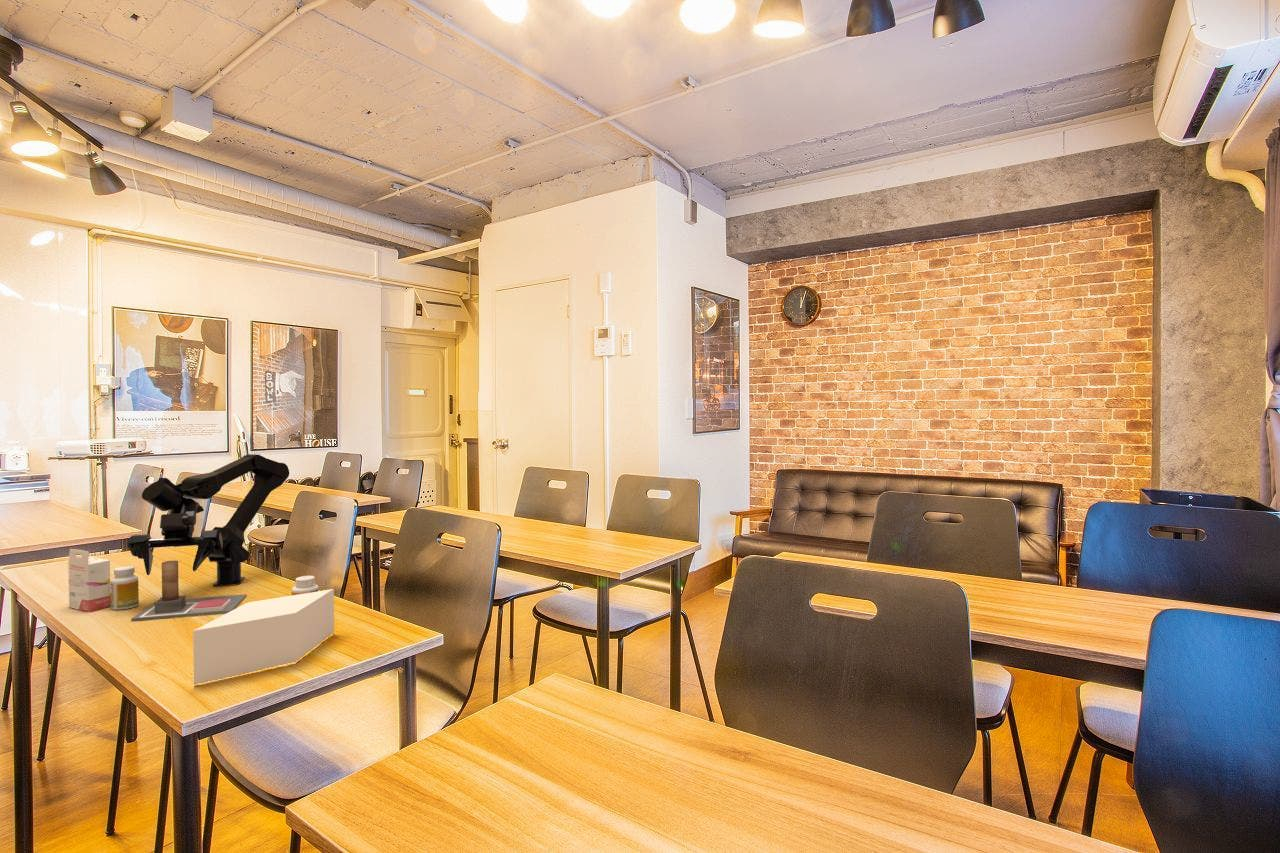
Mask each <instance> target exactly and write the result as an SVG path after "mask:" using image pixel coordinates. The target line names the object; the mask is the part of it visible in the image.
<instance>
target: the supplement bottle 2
mask: <svg viewBox="0 0 1280 853" xmlns="http://www.w3.org/2000/svg"><path fill="white" fill-rule="evenodd" d="M319 589H320V588H319V585H318V584H316V577H315V576H314V575H302V576H299V577H296V578H295V586H293V587H292V588H291V596H292V595H299V594H305V593H311V592H317V591H320V590H319Z"/></svg>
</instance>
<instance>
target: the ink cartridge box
mask: <svg viewBox="0 0 1280 853" xmlns="http://www.w3.org/2000/svg"><path fill="white" fill-rule="evenodd" d="M77 555H80V556H81V557H80V556H79V557H78V556H77ZM89 555H90V552H89V551H88V550H83V549H74V548H70V549H69V554H68V557H69V558H68V566H67V567H68V607H71V608H70V609H72V608H75V609H74V610H77V609H78V610H77V611H82V610H83V611H82V612H87V611H88V613H90V612H94V611H98V610H102V609H106V608H107V609H108V608H111V589H110V582H111V560H110V559H104V558H97V557H91V556H89Z"/></svg>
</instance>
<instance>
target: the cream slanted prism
mask: <svg viewBox="0 0 1280 853" xmlns="http://www.w3.org/2000/svg"><path fill="white" fill-rule="evenodd" d="M192 633H193V635H192V636H193V638H192V639H193V686H194V685H195V684H198V683H204V682H208V681H212V680H218V679H223V678H226V677H232V676H236V675H241V674H245V673H249V672H253V671H258V670H262V669H265V668H269V667H274V666H278V665H283V664H287V663H292V662H296V661H297V660H299V659H300V658H301V657H303V656H304V655H305V654H306V653H308V652H309V651H311V650H312V649H313V648H314V647H316V646H317V645H318V644H320V643H321V642H322V641H323V640H325V639H326V638H327V637H329V636H330V635H331V634H332V633H334V634H335V589H334V588H331V589H324V590H319V591H317V592H311V593H305V594H299V595H292V594H291V595H287V596H280V597H275V598H268V599H262V600H256V601H255V600H254V601H249V602H246V603H244V604H242V605H240V606H237V607H236V608H235V609H234V610H232V611H230V612H228V613H224V614H223V615H220V616H219V617H217V618H215V619H213V620H211V621H209V622H208V623H206V624H204V625H201V626H200V627H198V628H195V629H193V630H192Z"/></svg>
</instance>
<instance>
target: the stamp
mask: <svg viewBox="0 0 1280 853" xmlns="http://www.w3.org/2000/svg"><path fill="white" fill-rule="evenodd" d="M179 588H180V587H179V561H178V560H167V561H163V562H161V597H159V598H158V600H156V601H157V602H156V603H155V614H157V613H167V612H177V611H181V610H182V609H183V608H184V607H185V605H186V599H187V598H186V597H187V596H186V595H185V594H183V595H182V594H181V595H179V594H180V593H179Z"/></svg>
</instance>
